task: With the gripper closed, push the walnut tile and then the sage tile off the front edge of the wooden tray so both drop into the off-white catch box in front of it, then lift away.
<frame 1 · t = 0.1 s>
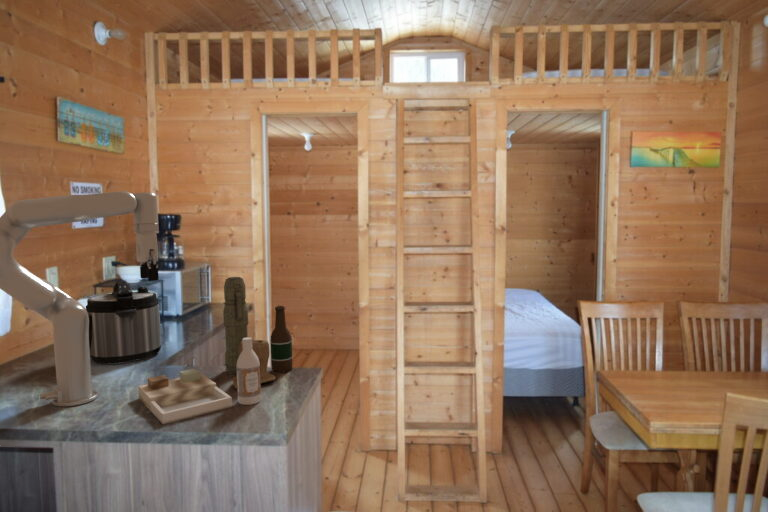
hand: (149, 279, 176), 37 cm above the counter, tool pointing down, fingers open, 9 cm apart
catch box: (191, 409, 155), on the counter
beer bottle: (282, 370, 192), on the counter
pressure cooker: (124, 357, 214), on the counter
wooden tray: (177, 396, 165), on the counter
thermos: (238, 371, 192), on the counter
walnut tile: (158, 385, 164), point 4 cm above the counter, touching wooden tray
sage tile: (190, 379, 170), point 4 cm above the counter, touching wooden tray
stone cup: (252, 383, 178), on the counter
bath foam: (249, 402, 160), on the counter
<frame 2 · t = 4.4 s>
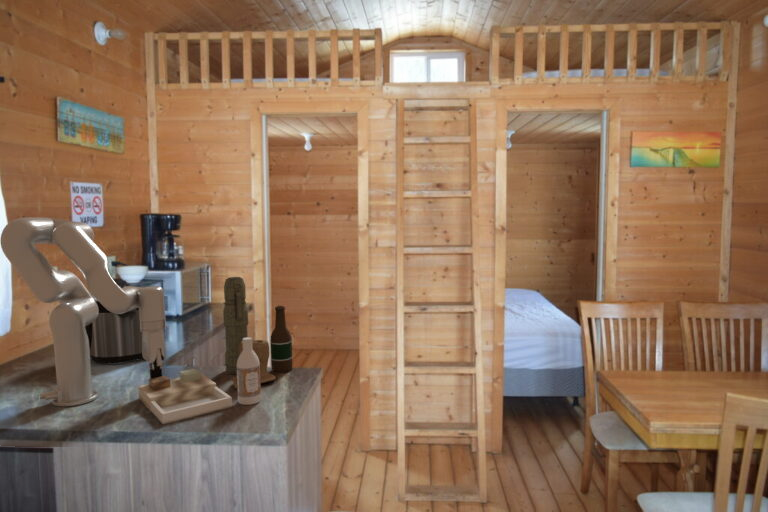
hand: (156, 380, 166), 5 cm above the counter, tool pointing down, fingers closed
walnut tile: (159, 386, 163), point 4 cm above the counter, touching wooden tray, gripper
everything else where it was.
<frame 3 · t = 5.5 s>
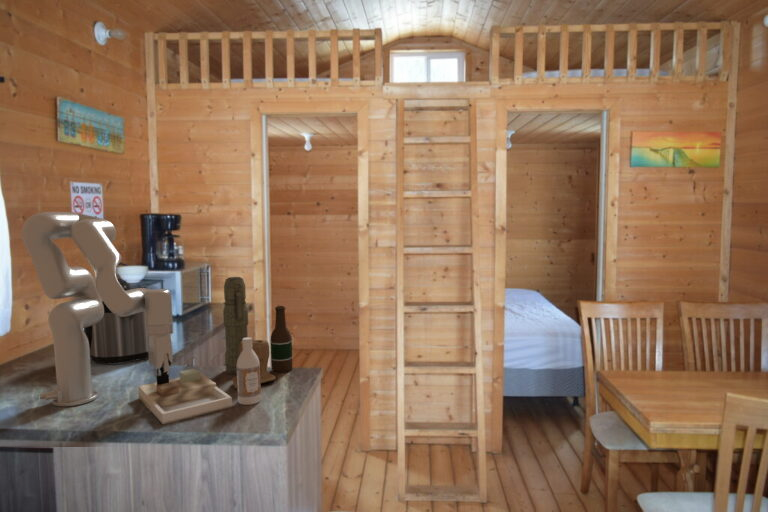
hand: (163, 387, 160), 5 cm above the counter, tool pointing down, fingers closed
walnut tile: (167, 393, 157), point 4 cm above the counter
everything else where it was.
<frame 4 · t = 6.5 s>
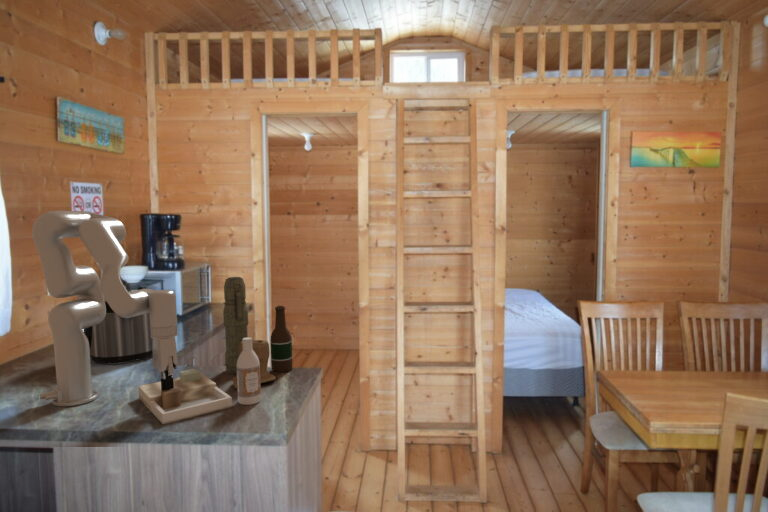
hand: (167, 390, 156), 5 cm above the counter, tool pointing down, fingers closed
walnut tile: (169, 396, 156), point 3 cm above the counter, tilted 100°, touching catch box, gripper
everything else where it was.
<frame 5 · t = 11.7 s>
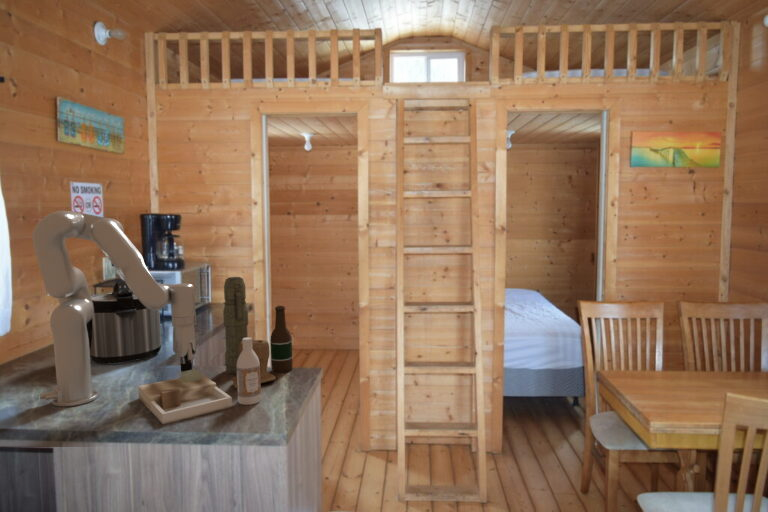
hand: (186, 374, 173), 5 cm above the counter, tool pointing down, fingers closed
walnut tile: (169, 397, 156), point 3 cm above the counter, tilted 90°, touching catch box
sage tile: (190, 379, 170), point 4 cm above the counter, touching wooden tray, gripper
everything else where it was.
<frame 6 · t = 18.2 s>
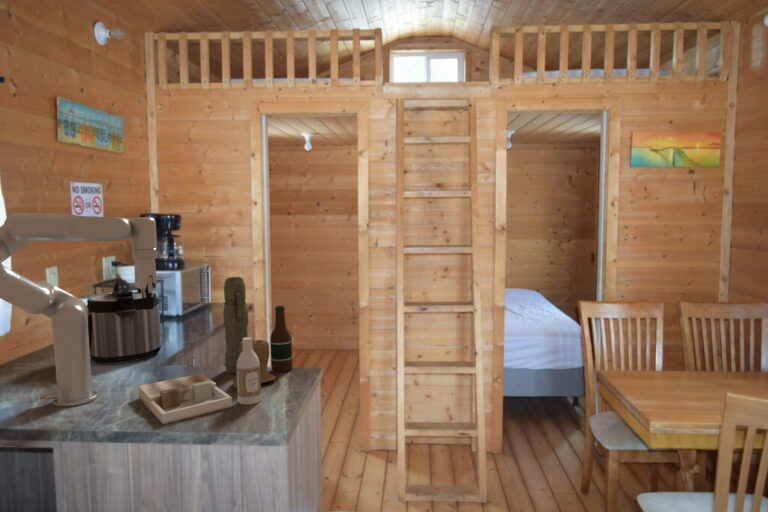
hand: (147, 308, 172), 27 cm above the counter, tool pointing down, fingers closed
sage tile: (200, 390, 162), point 3 cm above the counter, tilted 90°, touching catch box
everything else where it was.
at the end: walnut tile inside the target area (7.5 cm from its centre), point 3.0 cm above the counter; sage tile inside the target area (7.9 cm from its centre), point 3.0 cm above the counter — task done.
